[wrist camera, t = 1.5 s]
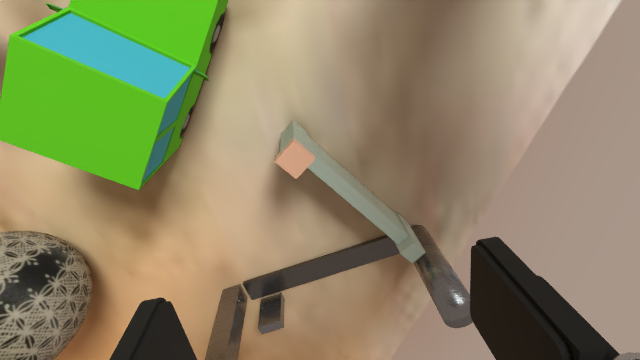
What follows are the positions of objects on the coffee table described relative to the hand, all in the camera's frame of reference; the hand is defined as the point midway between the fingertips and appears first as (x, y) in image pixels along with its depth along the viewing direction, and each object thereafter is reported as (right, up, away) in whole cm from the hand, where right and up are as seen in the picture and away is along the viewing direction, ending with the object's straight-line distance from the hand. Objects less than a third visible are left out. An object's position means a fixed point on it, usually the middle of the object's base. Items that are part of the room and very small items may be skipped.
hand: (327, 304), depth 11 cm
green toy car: (-13, +14, +17) cm, 26 cm away
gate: (+2, +4, +22) cm, 22 cm away
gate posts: (+1, -6, +27) cm, 28 cm away
